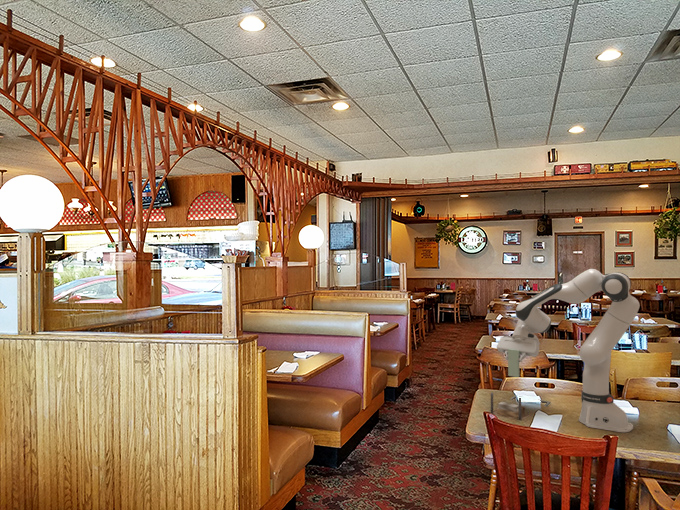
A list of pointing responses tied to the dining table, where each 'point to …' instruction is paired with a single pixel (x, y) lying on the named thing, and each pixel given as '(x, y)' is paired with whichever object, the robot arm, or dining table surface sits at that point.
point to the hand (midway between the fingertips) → (513, 360)
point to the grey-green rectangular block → (513, 362)
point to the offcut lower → (508, 413)
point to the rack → (521, 416)
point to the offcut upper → (508, 407)
